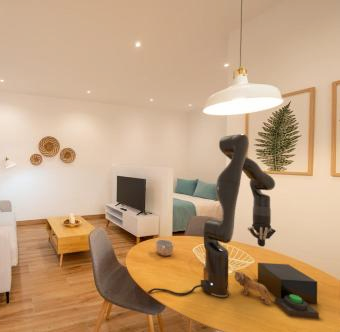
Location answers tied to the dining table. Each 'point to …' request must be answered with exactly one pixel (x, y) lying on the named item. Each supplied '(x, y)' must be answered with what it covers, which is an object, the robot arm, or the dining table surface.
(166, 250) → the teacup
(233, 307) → the dining table surface
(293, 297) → the button
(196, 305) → the dining table surface
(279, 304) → the control block
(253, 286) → the lion figurine
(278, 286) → the cabinet
